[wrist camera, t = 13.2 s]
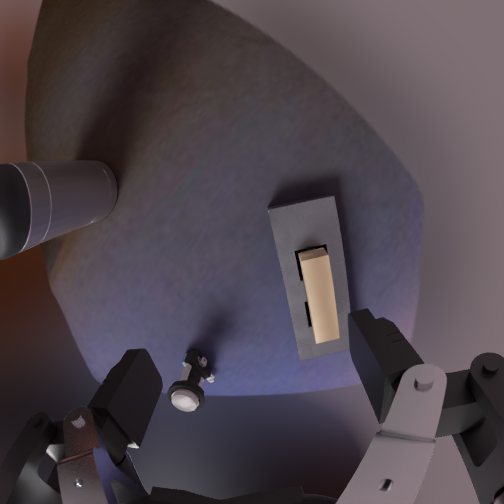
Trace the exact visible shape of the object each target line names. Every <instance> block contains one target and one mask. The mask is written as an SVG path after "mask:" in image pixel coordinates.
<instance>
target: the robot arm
mask: <svg viewBox="0 0 504 504" xmlns="http://www.w3.org/2000/svg"><path fill="white" fill-rule="evenodd" d="M116 199H117V182H116V178H115V175H114V174H113V172H112V170H111V169H110V168H109V167H108V165H106V164H105V163H103V162H100V161H91V160H61V161H34V162H20V163H7V164H0V260H2V259H5V258H8V257H10V256H13V255H15V254H17V253H19V252H21V251H24V250H26V249H28V248H31V247H33V246H35V245H37V244H40V243H42V242H45V241H47V240H50V239H52V238H55V237H57V236H60V235H62V234H65V233H68V232H70V231H73V230H75V229H78V228H81V227H84V226H87V225H89V224H92V223H95V222H98V221H100V220H103V219H104V218H106V217H107V216H108V215H109V214H110V213H111V211H112V210H113V208H114V206H115V203H116ZM348 332H349V348H350V354H351V358H352V361H353V363H354V365H355V368H356V370H357V372H358V374H359V377H360V379H361V381H362V384H363V386H364V388H365V391H366V393H367V395H368V398H369V400H370V402H371V405H372V407H373V410H374V412H375V415H376V417H377V420H378V422H379V424H380V423H383V422H384V425H383V427H382V429H381V431H380V432H377V434H376V435H375V437H374V439H373V440H372V442H371V444H370V446H369V448H368V450H367V452H366V454H365V456H364V458H363V460H362V462H361V463H360V465H359V467H358V469H357V471H356V472H355V474H354V476H353V477H352V479H351V481H350V482H349V484H348V486H347V487H346V489H345V490H344V492H343V493H342V495H341V497H340V498H339V499H338V500H337V499H334V498H330V497H326V496H321V495H314V494H303V491H302V488H301V486H298V487H292V488H284V489H275V490H265V491H258V492H254V493H251V494H247V495H243V496H238V497H233V498H229V499H223V500H218V499H213V498H209V497H205V496H202V495H198V494H195V493H191V492H188V491H185V490H177V489H168V488H160V487H153V488H152V491H151V494H150V495H149V494H148V492H147V491H146V490H145V488H144V486H143V485H142V482H141V480H140V478H139V476H138V474H137V471H136V469H135V467H134V464H133V462H132V460H131V458H130V455H129V454H128V453H127V452H126V450H127V447H133V448H140V446H141V443H142V440H143V438H144V435H145V432H146V430H147V427H148V424H149V422H150V419H151V416H152V414H153V412H154V409H155V406H156V404H157V401H158V399H159V396H160V394H161V391H162V387H163V384H162V378H161V376H160V374H159V372H158V370H157V368H156V366H155V364H154V363H153V361H152V359H151V357H150V355H149V353H148V351H147V350H146V349H130V350H127V351H126V352H125V354H124V356H123V357H122V359H121V360H120V362H119V363H117V364H116V365H115V366H114V367H113V368H112V369H111V370H110V372H109V373H108V375H107V376H106V379H104V381H103V382H102V385H101V386H100V387H99V389H98V390H97V392H96V393H95V395H94V397H93V398H92V400H91V401H90V403H89V405H88V406H87V407H78V408H75V409H73V410H72V411H70V412H69V413H68V414H67V416H66V417H65V419H64V420H63V421H55V422H54V421H53V420H52V418H51V417H50V416H49V415H48V414H47V413H45V412H39V413H36V414H34V415H33V416H32V417H31V418H30V419H29V420H28V421H27V423H26V425H25V426H24V428H23V429H22V431H21V432H20V434H19V436H18V437H17V439H16V441H15V442H14V444H13V445H12V447H11V449H10V450H9V452H8V454H7V455H6V457H5V459H4V461H3V462H2V464H1V466H0V504H413V503H414V501H415V498H416V496H417V494H418V491H419V489H420V487H421V484H422V482H423V479H424V476H425V474H426V471H427V468H428V466H429V462H430V460H431V457H432V453H433V450H434V446H435V440H434V438H436V437H442V436H447V435H452V436H453V439H454V441H455V443H456V445H457V447H458V450H459V452H460V454H461V456H462V459H463V461H464V463H465V466H466V468H467V471H468V473H469V475H470V478H471V481H472V483H473V486H474V489H475V491H476V494H477V497H478V500H479V502H480V504H504V358H503V357H502V356H501V355H499V354H496V353H483V354H480V355H479V356H477V357H476V358H474V360H473V361H472V363H471V366H470V369H468V370H463V371H458V372H453V373H444V371H443V370H442V369H441V368H439V367H437V366H435V365H432V364H424V362H423V361H422V359H421V358H420V357H419V355H418V354H417V353H416V351H415V350H414V349H413V347H412V346H411V345H410V343H409V342H408V341H407V339H405V337H404V335H403V334H402V333H400V330H399V329H398V328H397V327H396V325H395V324H394V323H393V322H391V321H389V320H387V319H385V318H383V317H382V318H379V319H375V318H374V316H373V315H372V313H371V312H370V311H369V309H367V308H366V309H362V310H359V311H355V312H351V313H348ZM46 452H47V453H48V454H49V455H50V456H51V457H52V458H53V459H54V460H55V461H56V464H55V466H54V468H53V470H52V473H51V475H50V477H49V479H48V481H47V484H46V483H45V482H43V481H42V480H41V479H40V478H39V476H38V473H37V469H38V466H39V464H40V462H41V460H42V458H43V456H44V455H45V453H46Z"/></svg>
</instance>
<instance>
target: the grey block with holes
mask: <svg viewBox="0 0 504 504" xmlns="http://www.w3.org/2000/svg"><path fill="white" fill-rule="evenodd" d="M268 213H269V217H270V221H271V226H272V230H273V234H274V239H275V243H276V248H277V252H278V257H279V261H280V266H281V270H282V275H283V279H284V284H285V289H286V293H287V298H288V303H289V308H290V312H291V317H292V322H293V327H294V332H295V337H296V342H297V347H298V352H299V357H300V360H305V359H310V358H314V357H319V356H323V355H328V354H332V353H336V352H340V351H344V350H348V349H350V348H349V332H348V313H350V302H349V292H348V283H347V275H346V267H345V259H344V252H343V245H342V238H341V232H340V226H339V220H338V214H337V209H336V203H335V198H334V196H333V195H330V194H326V195H321V196H316V197H311V198H307V199H302V200H297V201H292V202H288V203H283V204H279V205H274V206H270V207H268ZM319 245H323V248H324V250H325V251H326V252H327V254H328V255H329V261H330V267H331V274H332V280H333V287H334V294H335V302H336V310H337V318H338V327H339V336H340V338H338V339H334V340H330V341H326V342H322V343H318V344H316V341H315V337H314V333H313V329H312V323H311V317H310V316H307V315H306V309H305V304H304V302H307V301H308V300H307V295H306V290H305V284H304V279H303V274H302V272H298V267H297V262H296V257H295V252H294V251H296V250H301V249H306V248H310V247H315V246H319Z"/></svg>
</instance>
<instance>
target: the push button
mask: <svg viewBox="0 0 504 504" xmlns="http://www.w3.org/2000/svg"><path fill="white" fill-rule="evenodd" d="M204 360H205V361H204ZM206 363H207V360H206V359H205V358H204V357H202V358H201V357H200V356H199V355H198V351H197V350H196V349H194V350H192V351H190V352H188V353H186V354H185V356H184V358H183V360H182V364H183V365H184V370H183V373H182V375H181V378H180V380H179V381H176V382H174V383H173V384H172V386H171V387H170V388H169V390H168V392H167V395H168V398H169V400H170V401H171V402H172V403H173V405H174V406H175V407H176V408H178V409H180V410H183V411H193V410H198V409H200V408H202V407H203V405H204V402H205V399H204V391H203V390H202V388H201V386H202V382H204V379H207V380H208V381H209V382H210V383H211V382H214V380H213V378H215V377H214V376H213V375H212V374H211V368H210V367H209V366H208V365H207V364H206ZM211 376H212V377H211ZM209 379H211V380H212V381H210V380H209ZM174 390H175V391H174ZM198 399H199V400H198Z"/></svg>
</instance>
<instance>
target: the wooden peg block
mask: <svg viewBox="0 0 504 504" xmlns="http://www.w3.org/2000/svg"><path fill="white" fill-rule="evenodd" d="M298 254H299V259H300V264H301V269H302V274H303V279H304V284H305V290H306V295H307V300H308V306H309V311H310V317H311V323H312V329H313V333H314V337H315V341H316V344H318V343H322V342H326V341H330V340H334V339H338V338H340V336H339V327H338V318H337V310H336V302H335V294H334V287H333V280H332V274H331V267H330V261H329V255H328V254H327V252H326V251H325V250H324V248H319V249H315V248H311V249H306V250H302V251H300V253H298Z"/></svg>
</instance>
